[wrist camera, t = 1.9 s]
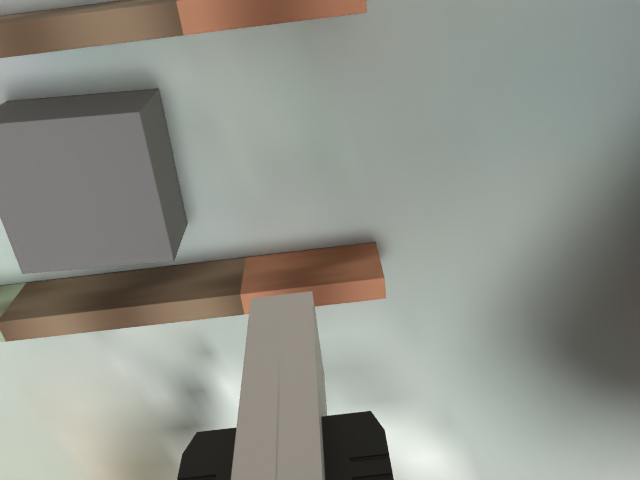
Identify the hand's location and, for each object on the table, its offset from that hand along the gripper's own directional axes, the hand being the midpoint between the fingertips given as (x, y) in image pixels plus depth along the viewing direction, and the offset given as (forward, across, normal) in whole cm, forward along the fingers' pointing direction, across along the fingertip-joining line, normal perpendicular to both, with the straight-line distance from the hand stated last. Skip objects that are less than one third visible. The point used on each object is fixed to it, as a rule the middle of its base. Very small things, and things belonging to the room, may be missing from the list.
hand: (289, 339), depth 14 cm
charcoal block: (+15, +9, 0) cm, 18 cm away
